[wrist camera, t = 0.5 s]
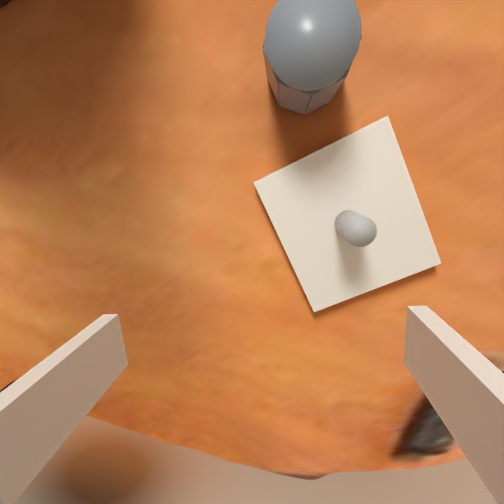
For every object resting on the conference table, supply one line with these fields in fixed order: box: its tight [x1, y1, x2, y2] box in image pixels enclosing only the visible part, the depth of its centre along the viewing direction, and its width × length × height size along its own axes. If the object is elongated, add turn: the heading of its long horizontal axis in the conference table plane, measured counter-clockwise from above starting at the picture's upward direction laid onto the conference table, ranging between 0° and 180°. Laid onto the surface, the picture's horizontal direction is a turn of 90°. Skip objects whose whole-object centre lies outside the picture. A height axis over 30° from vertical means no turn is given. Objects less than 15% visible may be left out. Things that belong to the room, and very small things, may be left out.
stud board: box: [254, 116, 441, 312], centre depth 32 cm, size 18×16×8 cm
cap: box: [263, 0, 362, 115], centre depth 28 cm, size 8×8×9 cm
